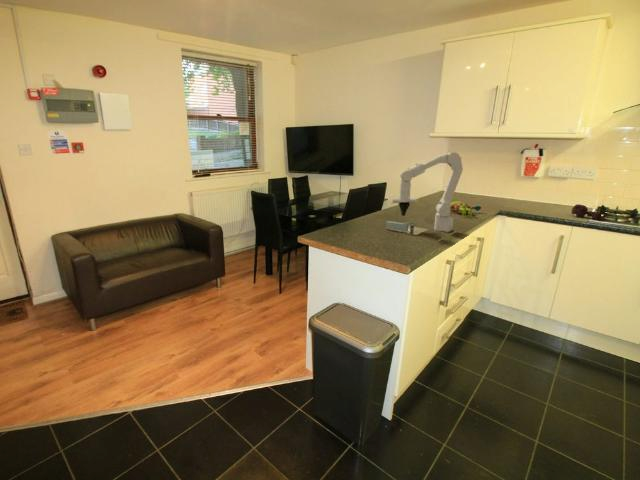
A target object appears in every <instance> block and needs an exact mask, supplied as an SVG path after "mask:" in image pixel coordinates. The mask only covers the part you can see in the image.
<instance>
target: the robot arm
mask: <svg viewBox="0 0 640 480" xmlns="http://www.w3.org/2000/svg"><path fill="white" fill-rule="evenodd" d="M439 164H447V165H448V166H449V168H450V169H451V173H450V176H449V178H448V181H447V183H446V187H445V189H444V193H443V194H442V196H441V198H440V200H439V202H438V203H437V204H436V206H435V212H436V213H435V217H434V226H433V229H434V230H435V231H439V232H445V233H446V232H447V233H449V232H451V231H453V225H454V224H453V223H454V218H453V217H452V216H450V214H451V210H450V207H451V202H452V200H453V196H454V195H455V192H456V188H457V186H458V183H459V180H460V178H461V175H462V174H463V171H464V168H463V162H462V157H461V156H460V154H459V153H458V152H454V151H447V152H446V153H442V154H440V155H438V156H436V157H434V158H432V159H430V160H428V161H427V162H425V163H416V164H415V165H413V166H411V167H408V168H407V169H405V170H403V171H401V173H400V185H399V186H400V187H399V198H395V199H391V202H390V203H391V204H398V206H399V209H400V214H401V216H403V217H405V216H406V214H407V210H408V209H409V207H410V206H411V204H412V203H413V204H417V203H418V199H416V198H410V197H411V187H412V183H411V181H412V179H413V178H414V179H415V178H416V177H418V176H420V175H422V174H424V173H425V172H426V170H428V169H429V168H432V167H435V166H436V165H439Z"/></svg>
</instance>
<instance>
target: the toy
mask: <svg viewBox="0 0 640 480" xmlns="http://www.w3.org/2000/svg"><path fill="white" fill-rule="evenodd" d="M481 209H482V206H480V205H475V206H471V205H468V204H467V203H466V202H462V201H457V200H456V201H451V207H450V211H452V212H456V213H458V214H460V215H461V216H460V217H462V218H463V217H464V218H465V217H468V218H471V217H472V218H473V210H475V211H478V212H479V211H480V210H481ZM467 213H468V214H467Z"/></svg>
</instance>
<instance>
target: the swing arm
mask: <svg viewBox="0 0 640 480" xmlns="http://www.w3.org/2000/svg"><path fill="white" fill-rule="evenodd" d="M408 226H414V227H417V223H415V222H397V221H392V220H391V221H389V220H387V221H386V226H385V228H386V229H387V230H389V229H394V230H400V231H408ZM394 230H393V231H394Z"/></svg>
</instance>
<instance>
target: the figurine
mask: <svg viewBox="0 0 640 480" xmlns="http://www.w3.org/2000/svg"><path fill="white" fill-rule="evenodd" d="M571 214H572V215H574V216H575V217H578V218H584V217H585V216H587V217H590V218H592V219H595V220H596V221H600V222H601V221H604V220H605V219H606V216H607V215H605V214H604V215H602V213H600V212H597V211H592V210H589V209H588V207H587V206H586V205H584V204H575V205H573V206H572V209H571Z"/></svg>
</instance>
